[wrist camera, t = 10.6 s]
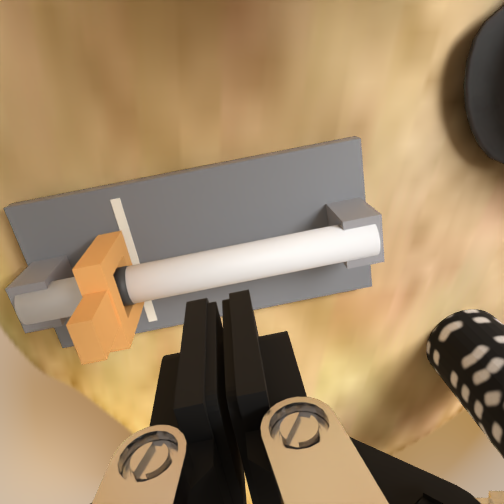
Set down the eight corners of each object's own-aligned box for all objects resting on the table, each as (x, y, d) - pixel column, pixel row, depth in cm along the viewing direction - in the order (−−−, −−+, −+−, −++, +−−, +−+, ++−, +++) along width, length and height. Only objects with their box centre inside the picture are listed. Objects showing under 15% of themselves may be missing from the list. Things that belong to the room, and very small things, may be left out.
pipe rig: (355, 136, 36) (388, 149, 29) (366, 279, 42) (397, 319, 35) (11, 203, 36) (-37, 232, 29) (67, 339, 41) (38, 391, 34)
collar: (121, 230, 35) (84, 290, 25) (144, 302, 38) (119, 383, 28) (97, 235, 35) (50, 297, 25) (122, 307, 38) (89, 389, 28)
